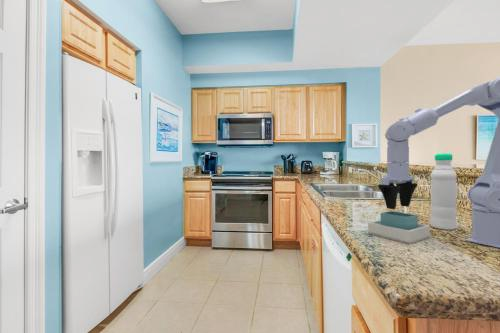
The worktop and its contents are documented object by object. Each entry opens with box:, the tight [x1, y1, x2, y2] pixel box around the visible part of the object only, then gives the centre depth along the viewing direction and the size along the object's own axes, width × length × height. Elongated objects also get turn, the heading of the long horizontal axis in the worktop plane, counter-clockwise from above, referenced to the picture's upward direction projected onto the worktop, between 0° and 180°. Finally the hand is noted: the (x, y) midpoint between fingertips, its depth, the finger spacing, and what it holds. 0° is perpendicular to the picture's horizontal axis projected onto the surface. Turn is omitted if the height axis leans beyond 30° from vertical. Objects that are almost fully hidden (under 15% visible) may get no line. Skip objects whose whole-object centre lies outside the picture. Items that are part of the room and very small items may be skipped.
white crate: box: [367, 219, 431, 245], centre depth 76 cm, size 11×12×4 cm
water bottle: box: [429, 153, 458, 231], centre depth 85 cm, size 7×7×25 cm
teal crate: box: [380, 210, 419, 231], centre depth 76 cm, size 6×8×6 cm
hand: (398, 207), depth 76 cm, fingers open, 7 cm apart
